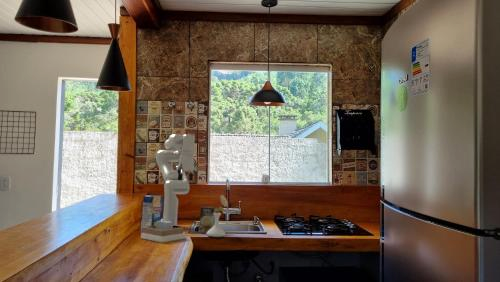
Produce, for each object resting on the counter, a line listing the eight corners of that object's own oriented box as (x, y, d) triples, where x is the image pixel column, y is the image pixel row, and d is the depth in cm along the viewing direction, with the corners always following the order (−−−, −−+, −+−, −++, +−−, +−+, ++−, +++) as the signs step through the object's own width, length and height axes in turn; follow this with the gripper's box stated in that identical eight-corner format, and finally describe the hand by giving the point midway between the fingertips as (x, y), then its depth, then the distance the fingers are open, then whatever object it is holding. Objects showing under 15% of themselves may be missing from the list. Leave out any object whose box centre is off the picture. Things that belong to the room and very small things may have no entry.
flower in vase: (214, 239, 200) (217, 195, 203) (202, 236, 208) (205, 194, 210) (231, 237, 210) (233, 195, 212) (218, 234, 217) (220, 194, 220)
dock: (140, 238, 191) (141, 226, 191) (165, 234, 206) (165, 224, 206) (161, 242, 182) (162, 230, 183) (185, 238, 197) (185, 227, 198)
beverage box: (140, 233, 204) (143, 196, 207) (150, 231, 215) (153, 195, 217) (150, 234, 202) (153, 196, 205) (160, 232, 213) (163, 196, 215)
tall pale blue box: (155, 231, 194) (156, 221, 195) (162, 230, 199) (163, 220, 199) (165, 233, 190) (166, 222, 191) (172, 232, 194) (173, 221, 195)
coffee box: (198, 232, 218) (200, 207, 220) (200, 231, 224) (202, 206, 226) (212, 234, 217) (214, 208, 219) (214, 232, 223) (216, 207, 225)
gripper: (192, 154, 234) (190, 179, 232) (173, 152, 220) (171, 179, 218) (200, 154, 230) (198, 180, 228) (182, 152, 215) (179, 180, 214)
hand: (185, 180), depth 223 cm, fingers open, 9 cm apart
